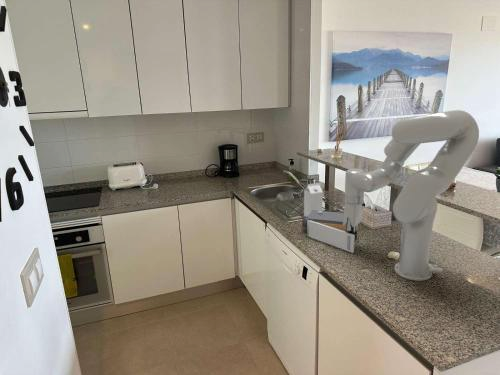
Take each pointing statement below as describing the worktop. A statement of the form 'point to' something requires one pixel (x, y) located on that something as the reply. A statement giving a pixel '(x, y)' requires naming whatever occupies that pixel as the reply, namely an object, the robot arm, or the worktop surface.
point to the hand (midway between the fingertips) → (352, 239)
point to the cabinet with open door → (326, 219)
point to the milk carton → (313, 198)
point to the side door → (331, 236)
